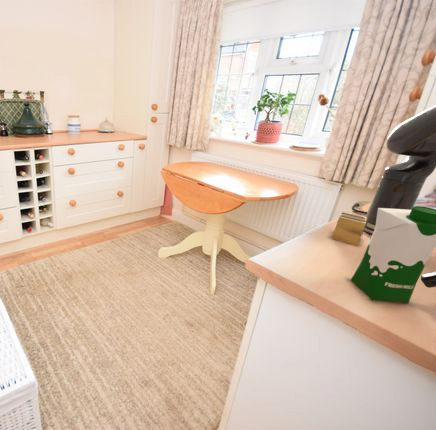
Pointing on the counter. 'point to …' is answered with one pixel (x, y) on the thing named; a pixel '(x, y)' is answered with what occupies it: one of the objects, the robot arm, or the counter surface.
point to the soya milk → (397, 253)
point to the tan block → (349, 228)
